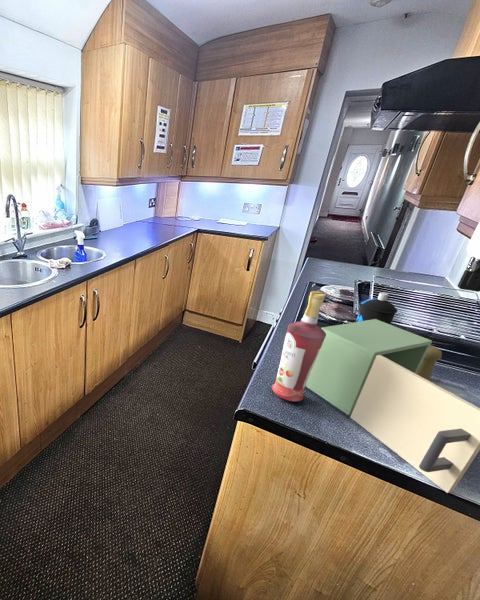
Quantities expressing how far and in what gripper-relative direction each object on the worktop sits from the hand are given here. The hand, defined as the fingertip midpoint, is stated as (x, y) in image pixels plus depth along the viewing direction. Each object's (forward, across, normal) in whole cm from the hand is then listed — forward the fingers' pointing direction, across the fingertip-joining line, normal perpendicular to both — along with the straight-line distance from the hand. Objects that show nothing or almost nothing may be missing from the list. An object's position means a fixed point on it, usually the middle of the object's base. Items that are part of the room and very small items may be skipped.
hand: (468, 289), depth 72 cm
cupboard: (+29, -8, +13) cm, 33 cm away
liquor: (+29, -21, +26) cm, 44 cm away
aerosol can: (+29, +18, +10) cm, 36 cm away
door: (+29, -28, +8) cm, 41 cm away
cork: (+29, +8, -1) cm, 30 cm away
